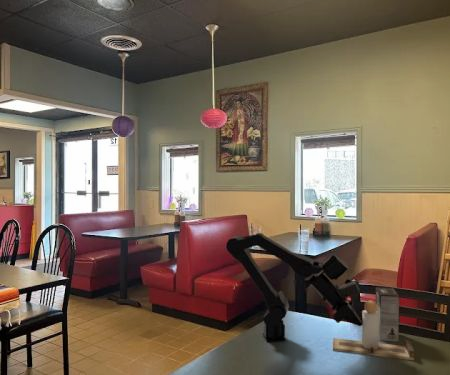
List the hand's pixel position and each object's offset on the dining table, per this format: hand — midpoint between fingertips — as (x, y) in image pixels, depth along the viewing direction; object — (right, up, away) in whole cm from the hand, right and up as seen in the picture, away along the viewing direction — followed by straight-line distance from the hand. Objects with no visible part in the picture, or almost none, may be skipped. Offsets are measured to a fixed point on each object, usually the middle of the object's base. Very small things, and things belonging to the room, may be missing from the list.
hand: (361, 324), depth 126 cm
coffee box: (+13, -8, +10) cm, 18 cm away
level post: (+3, -7, -1) cm, 7 cm away
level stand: (+3, -8, -1) cm, 8 cm away
